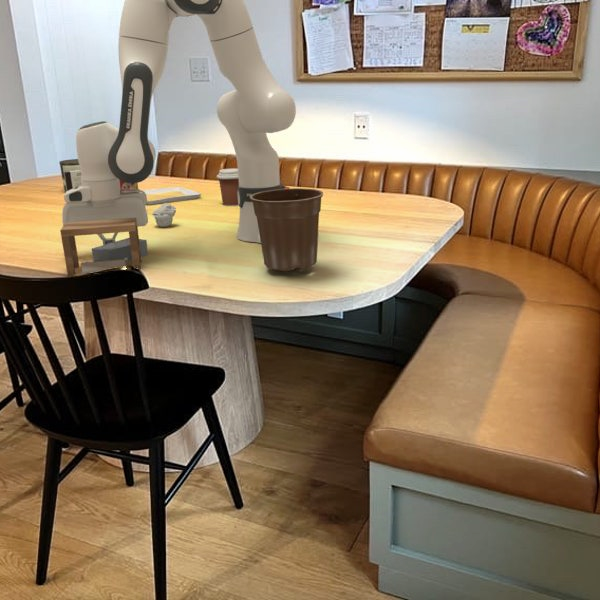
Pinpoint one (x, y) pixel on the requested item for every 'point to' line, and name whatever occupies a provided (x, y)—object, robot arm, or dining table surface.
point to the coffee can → (68, 169)
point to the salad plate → (187, 192)
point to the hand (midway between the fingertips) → (109, 246)
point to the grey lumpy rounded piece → (164, 215)
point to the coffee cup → (229, 186)
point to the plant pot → (288, 226)
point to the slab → (117, 250)
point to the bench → (99, 228)
